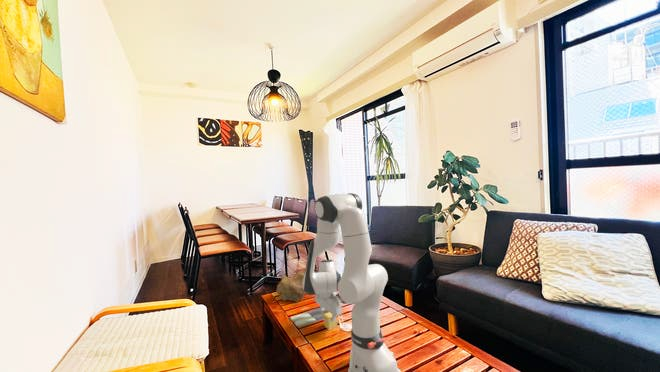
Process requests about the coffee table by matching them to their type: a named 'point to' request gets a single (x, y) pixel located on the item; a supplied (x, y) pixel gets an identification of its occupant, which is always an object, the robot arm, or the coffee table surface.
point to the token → (329, 321)
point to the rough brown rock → (291, 287)
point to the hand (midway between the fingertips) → (328, 317)
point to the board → (308, 317)
